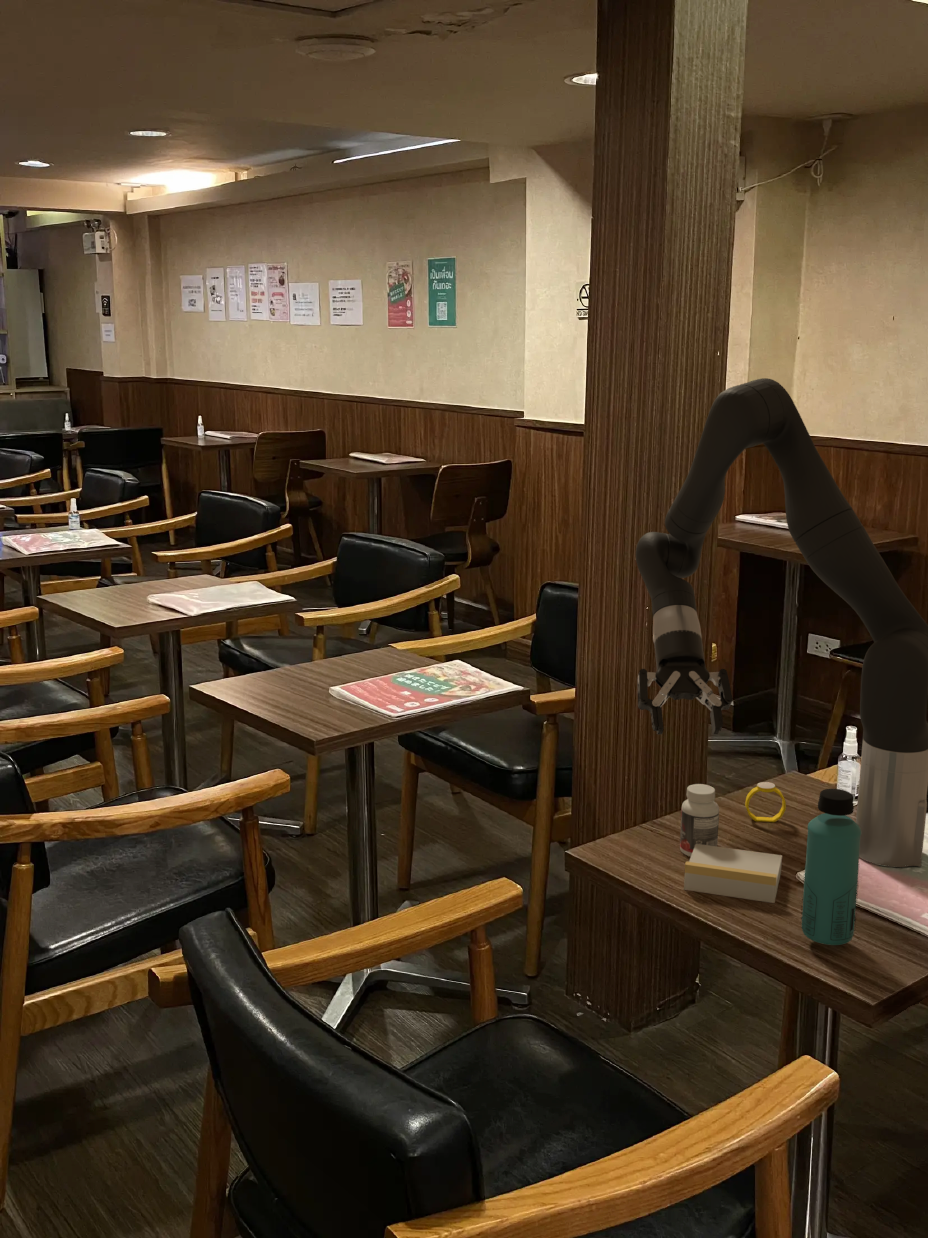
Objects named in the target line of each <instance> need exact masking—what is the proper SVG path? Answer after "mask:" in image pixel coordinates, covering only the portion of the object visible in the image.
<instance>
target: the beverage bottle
mask: <svg viewBox="0 0 928 1238" xmlns="http://www.w3.org/2000/svg"><path fill="white" fill-rule="evenodd" d="M854 808H855V807H854V796H853V794H852V793H851V792H849V791H847V790H845V789H840V788H826V789H822V790H821V791H820V793H819V797H818V802H817V809H818V810H819V811H821V812H822V813H820V814H818V815H817V816H816V817H814V818H812V819H811V820H810V821H808V823H807V839H806V851H805V852H806V853H805V854H806V857H805V864H804V876H803V879H802V882H803V884H802V888H803V889H802V892H803V894H802V897H801V898H802V899H801V906H800V907H801V908H802V910H801V913H800V914H801V915H800V916H801V917H800V927H801V930H802V933H803V935H804V936H805V937H806V938H808V939H810V940H811V941H813V942H816V943H819V944H821V945H829V946H840V945H844V944H848V943H850V942H851V941H852V939H853V937H854V936H855V931H856V927H855V925H856V924H857V912H856V911H857V902H858V898H859V897H858V895H859V893H858V892H859V890H858V889H859V883H860V881H859V870H860V869H859V868H860V857H859V849H860V836H861V829H860V827H859V826H858V825H857V824H856V821H854V820H853V819H852V818H851V817H849V815H851V814H853V813H854Z"/></svg>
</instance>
